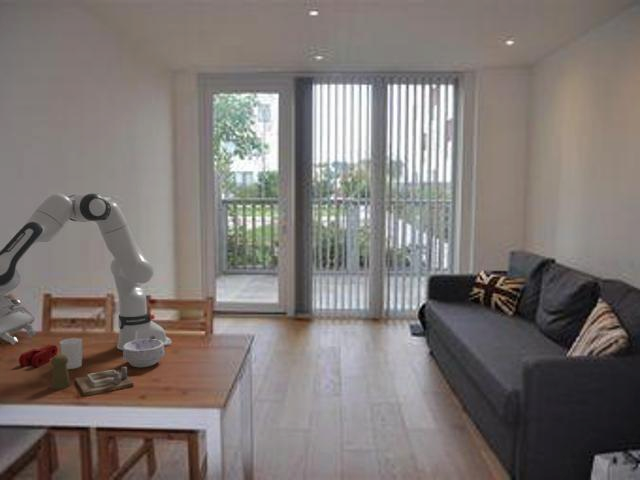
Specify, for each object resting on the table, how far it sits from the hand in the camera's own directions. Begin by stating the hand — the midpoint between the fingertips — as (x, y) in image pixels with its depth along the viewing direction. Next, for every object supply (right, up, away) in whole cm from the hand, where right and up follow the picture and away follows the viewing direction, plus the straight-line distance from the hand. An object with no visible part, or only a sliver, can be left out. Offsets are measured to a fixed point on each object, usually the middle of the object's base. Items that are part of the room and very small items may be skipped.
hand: (24, 339), depth 193 cm
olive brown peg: (+12, -17, 0) cm, 21 cm away
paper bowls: (+34, -14, +24) cm, 44 cm away
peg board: (+27, -16, +3) cm, 31 cm away
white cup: (+7, -14, +21) cm, 26 cm away
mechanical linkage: (-8, -14, +27) cm, 31 cm away
